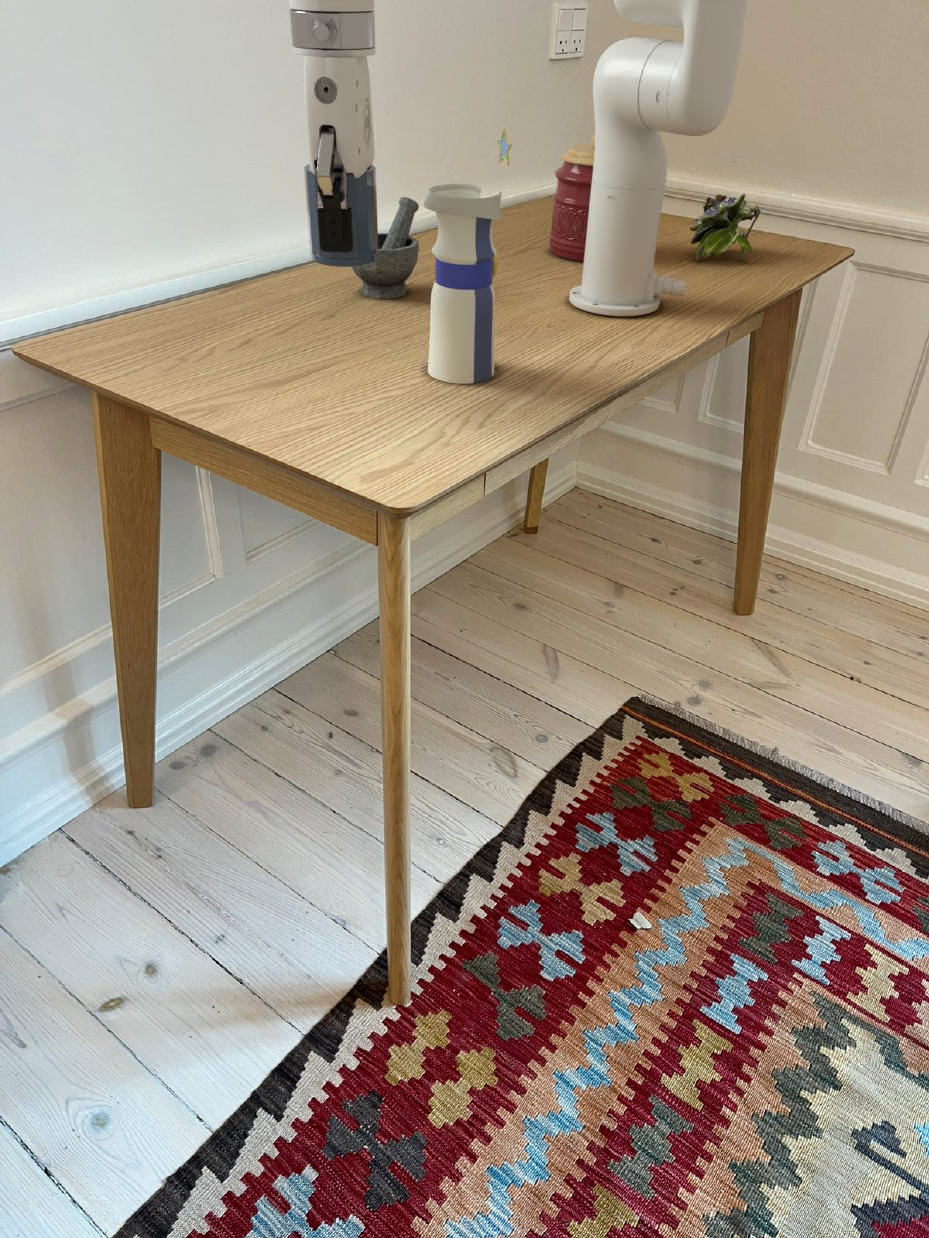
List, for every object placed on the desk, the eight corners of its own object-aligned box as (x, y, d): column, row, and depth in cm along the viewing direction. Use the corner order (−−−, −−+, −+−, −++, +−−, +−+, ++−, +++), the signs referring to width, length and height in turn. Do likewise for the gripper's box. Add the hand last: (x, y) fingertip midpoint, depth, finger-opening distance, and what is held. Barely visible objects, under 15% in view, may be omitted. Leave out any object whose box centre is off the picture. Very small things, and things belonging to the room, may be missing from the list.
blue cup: (382, 250, 98) (380, 162, 93) (372, 268, 92) (369, 175, 87) (318, 247, 98) (312, 159, 93) (304, 265, 93) (297, 172, 88)
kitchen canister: (632, 265, 147) (648, 141, 136) (550, 262, 147) (560, 138, 136) (622, 244, 157) (637, 127, 147) (546, 241, 157) (555, 125, 147)
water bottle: (460, 352, 112) (466, 120, 98) (511, 372, 107) (525, 131, 93) (409, 368, 108) (407, 127, 93) (460, 389, 103) (467, 138, 88)
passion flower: (700, 283, 158) (724, 216, 158) (757, 286, 151) (783, 215, 150) (668, 252, 150) (693, 180, 149) (727, 253, 143) (754, 177, 142)
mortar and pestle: (380, 307, 126) (378, 212, 119) (335, 291, 131) (331, 200, 124) (439, 291, 133) (440, 201, 126) (394, 277, 138) (392, 189, 131)
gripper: (358, 44, 77) (366, 266, 87) (388, 29, 91) (392, 222, 101) (268, 41, 77) (287, 263, 87) (312, 27, 91) (324, 219, 101)
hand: (343, 240), depth 94 cm, fingers closed on blue cup, 6 cm apart
